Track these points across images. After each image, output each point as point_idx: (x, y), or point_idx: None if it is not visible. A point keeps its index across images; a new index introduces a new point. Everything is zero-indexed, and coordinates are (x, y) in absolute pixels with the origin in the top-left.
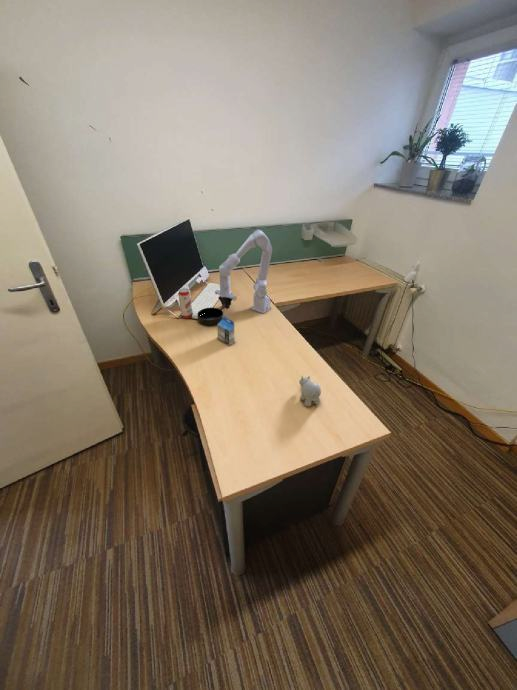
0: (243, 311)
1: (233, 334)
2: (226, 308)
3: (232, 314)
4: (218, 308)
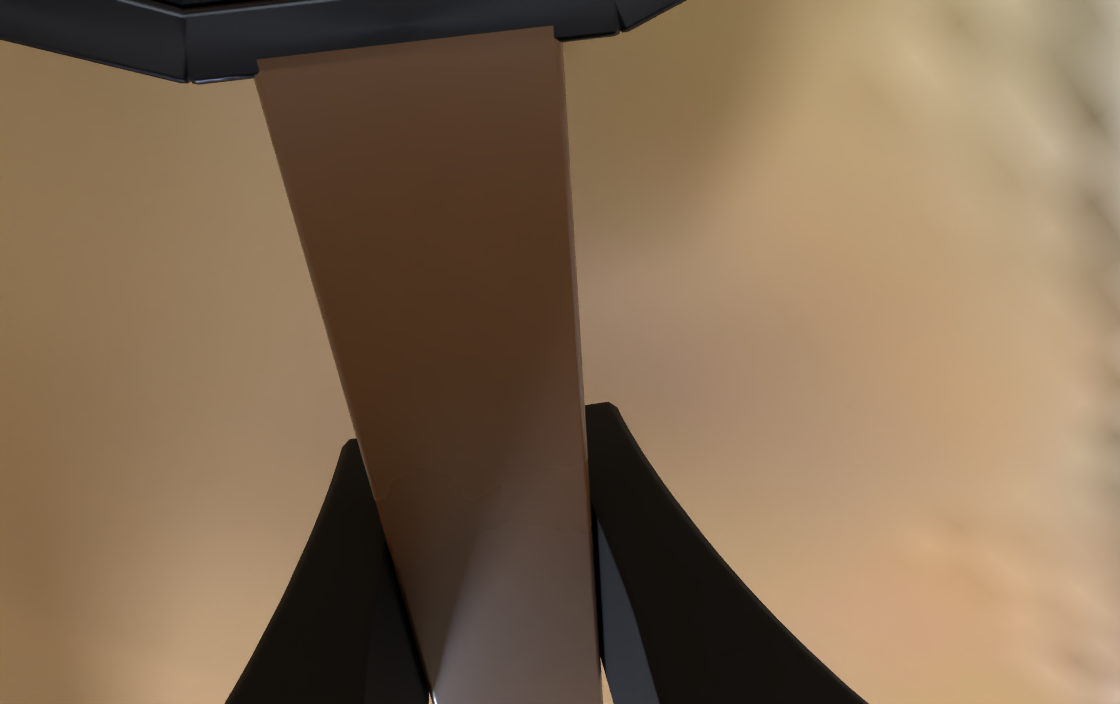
0: (23, 688)
1: None
2: None
3: (27, 371)
4: (461, 60)
